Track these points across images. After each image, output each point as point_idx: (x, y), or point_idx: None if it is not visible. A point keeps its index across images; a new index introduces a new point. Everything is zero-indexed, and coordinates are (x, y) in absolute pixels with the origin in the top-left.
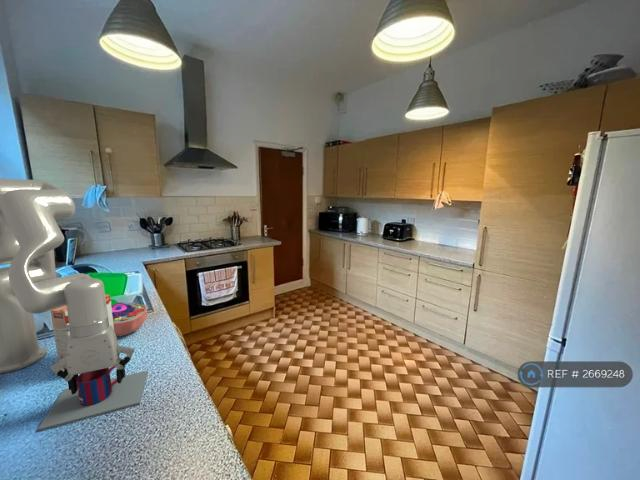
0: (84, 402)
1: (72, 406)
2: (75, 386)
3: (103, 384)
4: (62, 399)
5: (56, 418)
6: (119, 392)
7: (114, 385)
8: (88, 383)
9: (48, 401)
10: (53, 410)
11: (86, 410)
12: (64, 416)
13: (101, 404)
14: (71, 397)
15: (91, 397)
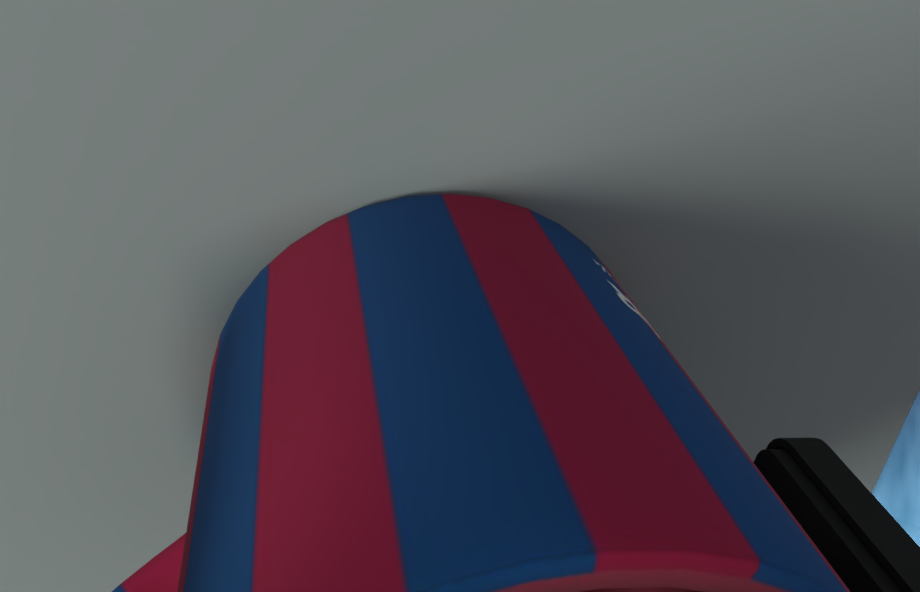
0: (580, 250)
1: (715, 298)
2: None
3: (257, 469)
4: None
5: (895, 118)
6: (66, 344)
7: None
8: (618, 515)
9: (916, 522)
10: (911, 320)
11: (523, 94)
12: (806, 108)
13: (305, 138)
14: None
15: (481, 262)
